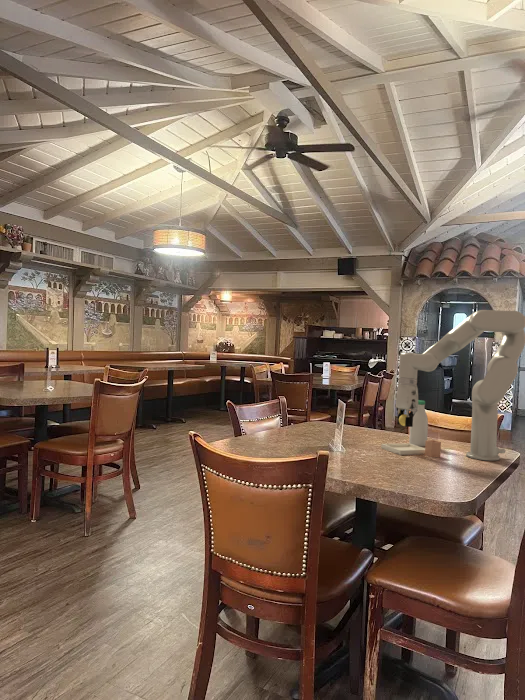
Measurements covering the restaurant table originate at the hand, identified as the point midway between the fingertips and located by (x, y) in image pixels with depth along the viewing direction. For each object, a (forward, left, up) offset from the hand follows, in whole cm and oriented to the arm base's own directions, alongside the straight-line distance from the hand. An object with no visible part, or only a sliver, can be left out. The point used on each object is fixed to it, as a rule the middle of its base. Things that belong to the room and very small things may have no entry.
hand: (404, 425), depth 214 cm
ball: (0, 0, -1) cm, 1 cm away
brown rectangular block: (-6, +11, -11) cm, 17 cm away
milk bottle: (-15, -12, -11) cm, 22 cm away
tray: (0, 0, -11) cm, 11 cm away
